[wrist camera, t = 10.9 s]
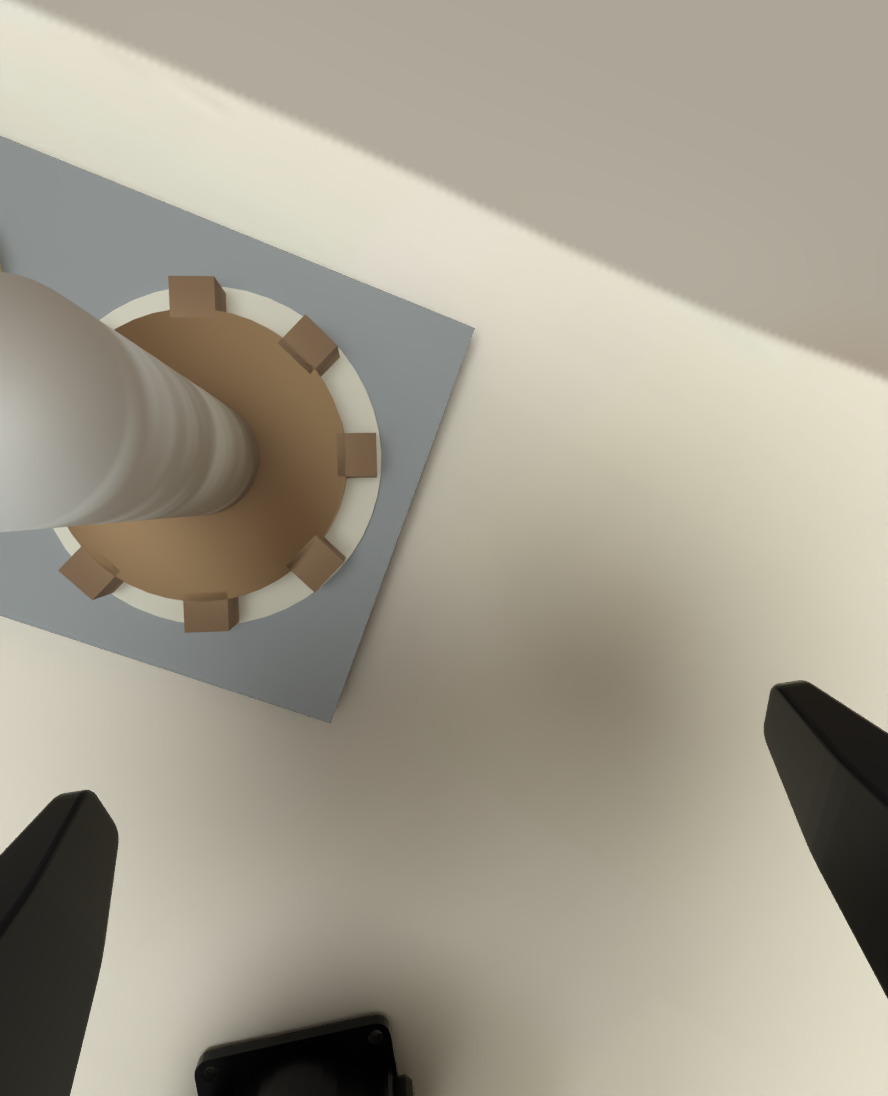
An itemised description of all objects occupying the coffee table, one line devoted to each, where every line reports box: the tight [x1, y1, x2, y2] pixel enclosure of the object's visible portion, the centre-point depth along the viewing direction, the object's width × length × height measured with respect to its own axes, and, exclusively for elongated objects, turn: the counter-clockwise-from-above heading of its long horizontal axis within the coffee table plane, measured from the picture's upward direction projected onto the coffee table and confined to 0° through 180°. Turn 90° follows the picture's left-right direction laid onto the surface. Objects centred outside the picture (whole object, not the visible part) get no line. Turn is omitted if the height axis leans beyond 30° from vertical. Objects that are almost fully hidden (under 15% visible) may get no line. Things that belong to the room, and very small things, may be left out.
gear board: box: [0, 136, 475, 723], centre depth 20 cm, size 24×13×4 cm, turn 70°
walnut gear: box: [0, 271, 377, 633], centre depth 15 cm, size 10×10×12 cm
